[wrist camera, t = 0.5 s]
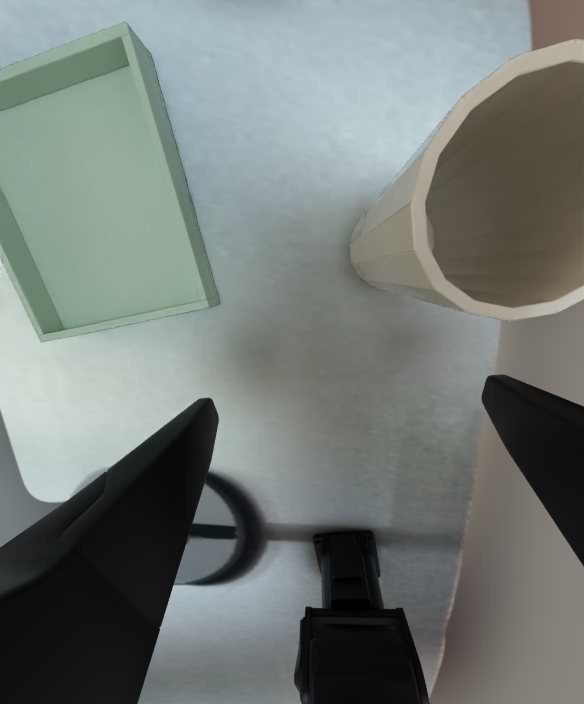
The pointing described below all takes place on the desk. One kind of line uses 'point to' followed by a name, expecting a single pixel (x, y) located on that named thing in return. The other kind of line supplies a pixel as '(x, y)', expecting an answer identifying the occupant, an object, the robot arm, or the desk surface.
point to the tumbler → (490, 198)
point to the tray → (95, 191)
